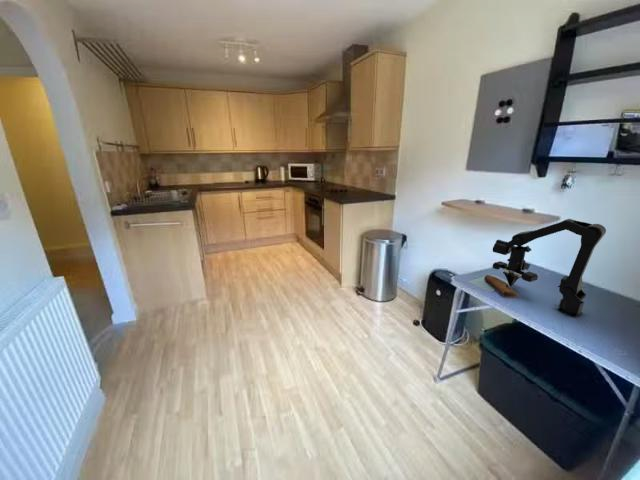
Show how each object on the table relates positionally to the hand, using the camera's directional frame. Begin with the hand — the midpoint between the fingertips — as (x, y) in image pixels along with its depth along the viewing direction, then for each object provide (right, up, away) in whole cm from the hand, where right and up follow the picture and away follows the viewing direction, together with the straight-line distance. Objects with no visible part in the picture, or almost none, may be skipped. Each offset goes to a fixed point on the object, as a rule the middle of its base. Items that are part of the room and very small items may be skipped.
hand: (510, 286), depth 137 cm
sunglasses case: (-3, -2, +3) cm, 5 cm away
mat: (-4, 0, +9) cm, 10 cm away
